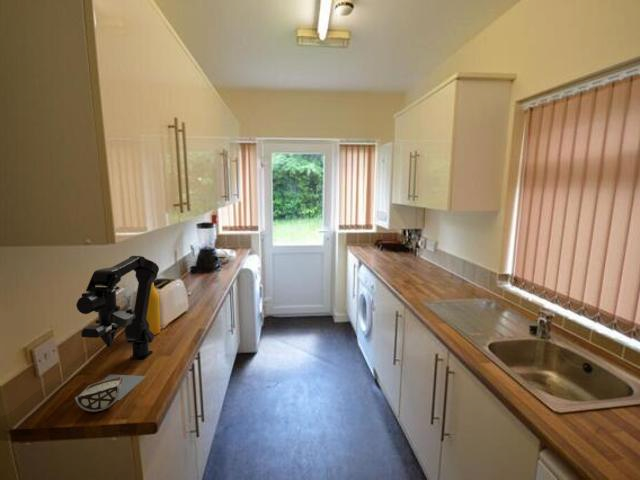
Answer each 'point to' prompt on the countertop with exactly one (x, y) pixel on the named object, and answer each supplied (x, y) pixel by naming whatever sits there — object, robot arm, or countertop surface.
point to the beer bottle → (153, 311)
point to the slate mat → (126, 383)
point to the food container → (100, 395)
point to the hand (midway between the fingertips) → (109, 346)
